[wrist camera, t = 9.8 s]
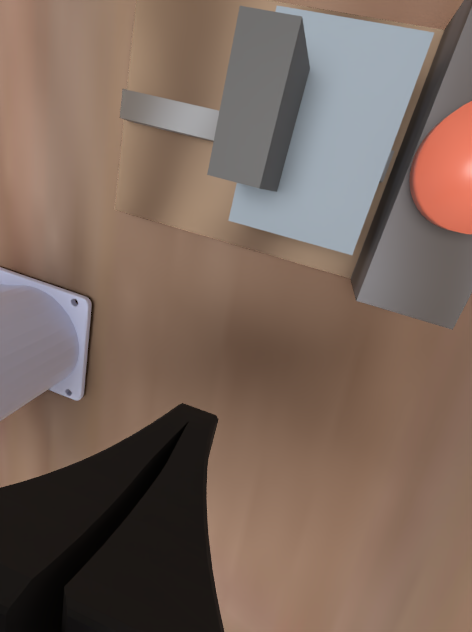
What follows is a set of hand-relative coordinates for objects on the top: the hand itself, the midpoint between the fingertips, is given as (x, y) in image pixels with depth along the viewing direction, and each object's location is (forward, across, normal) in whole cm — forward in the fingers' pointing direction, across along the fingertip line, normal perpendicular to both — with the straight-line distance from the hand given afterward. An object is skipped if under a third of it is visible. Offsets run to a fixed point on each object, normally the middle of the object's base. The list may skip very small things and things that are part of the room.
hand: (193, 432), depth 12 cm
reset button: (+3, -6, -10) cm, 12 cm away
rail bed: (+9, 0, -10) cm, 14 cm away
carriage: (+7, -1, -10) cm, 12 cm away
